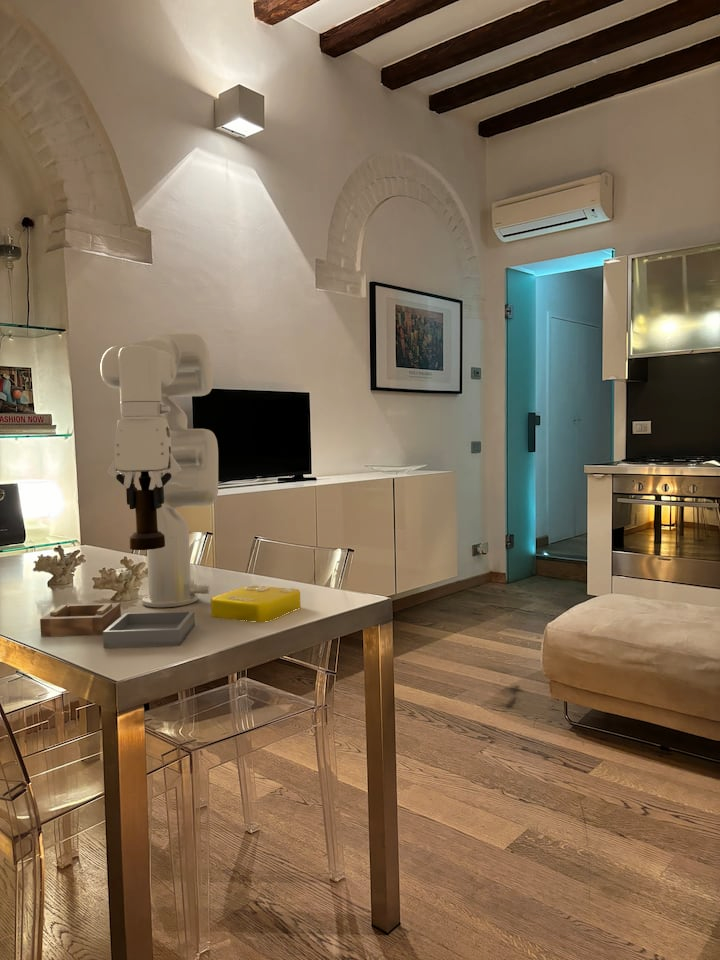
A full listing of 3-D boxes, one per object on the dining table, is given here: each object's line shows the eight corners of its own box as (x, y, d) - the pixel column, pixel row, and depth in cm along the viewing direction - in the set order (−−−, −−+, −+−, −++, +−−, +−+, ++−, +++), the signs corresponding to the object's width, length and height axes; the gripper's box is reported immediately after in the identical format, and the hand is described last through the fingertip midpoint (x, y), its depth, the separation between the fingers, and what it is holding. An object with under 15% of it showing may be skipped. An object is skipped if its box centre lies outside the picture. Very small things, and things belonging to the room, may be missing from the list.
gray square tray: (195, 625, 149) (194, 610, 149) (180, 645, 135) (179, 629, 135) (125, 627, 148) (125, 613, 148) (103, 647, 134) (102, 631, 134)
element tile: (207, 618, 156) (206, 596, 156) (249, 603, 169) (248, 582, 169) (265, 625, 149) (264, 602, 149) (304, 608, 162) (303, 587, 162)
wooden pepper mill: (133, 545, 143) (130, 453, 142) (167, 544, 144) (164, 453, 143) (126, 551, 137) (122, 454, 135) (162, 549, 137) (158, 454, 136)
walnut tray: (121, 619, 155) (120, 600, 155) (102, 634, 143) (101, 614, 143) (64, 620, 155) (63, 601, 155) (40, 636, 143) (39, 616, 143)
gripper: (190, 411, 143) (193, 505, 144) (103, 413, 142) (108, 507, 143) (181, 410, 135) (185, 509, 136) (90, 412, 135) (95, 511, 136)
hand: (145, 507), depth 140 cm, fingers closed on wooden pepper mill, 4 cm apart
